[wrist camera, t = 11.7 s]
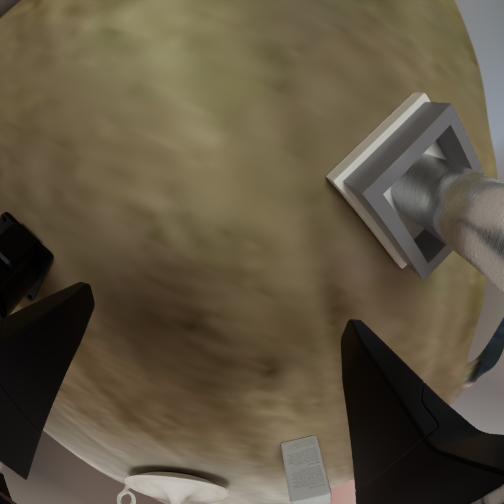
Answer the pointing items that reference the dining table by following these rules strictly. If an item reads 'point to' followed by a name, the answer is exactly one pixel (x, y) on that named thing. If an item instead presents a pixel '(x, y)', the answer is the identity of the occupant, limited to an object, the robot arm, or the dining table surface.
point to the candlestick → (173, 488)
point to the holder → (393, 167)
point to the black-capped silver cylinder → (457, 210)
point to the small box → (305, 471)
